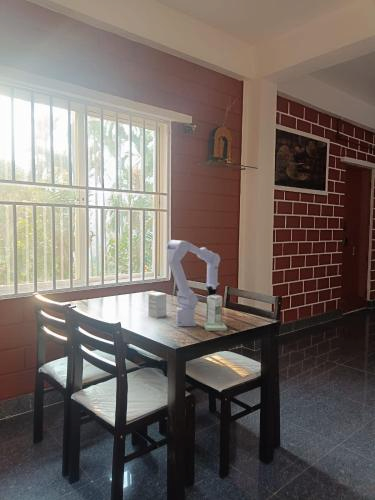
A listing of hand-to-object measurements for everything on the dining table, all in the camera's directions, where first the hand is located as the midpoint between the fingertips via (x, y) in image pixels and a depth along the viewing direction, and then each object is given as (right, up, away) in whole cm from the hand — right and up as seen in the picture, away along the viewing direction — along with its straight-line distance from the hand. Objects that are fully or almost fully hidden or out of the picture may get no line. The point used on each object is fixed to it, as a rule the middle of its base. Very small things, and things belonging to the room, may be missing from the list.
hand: (211, 300), depth 198 cm
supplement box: (-30, -10, +6) cm, 32 cm away
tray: (+1, -12, -16) cm, 20 cm away
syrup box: (+1, -11, -7) cm, 13 cm away
